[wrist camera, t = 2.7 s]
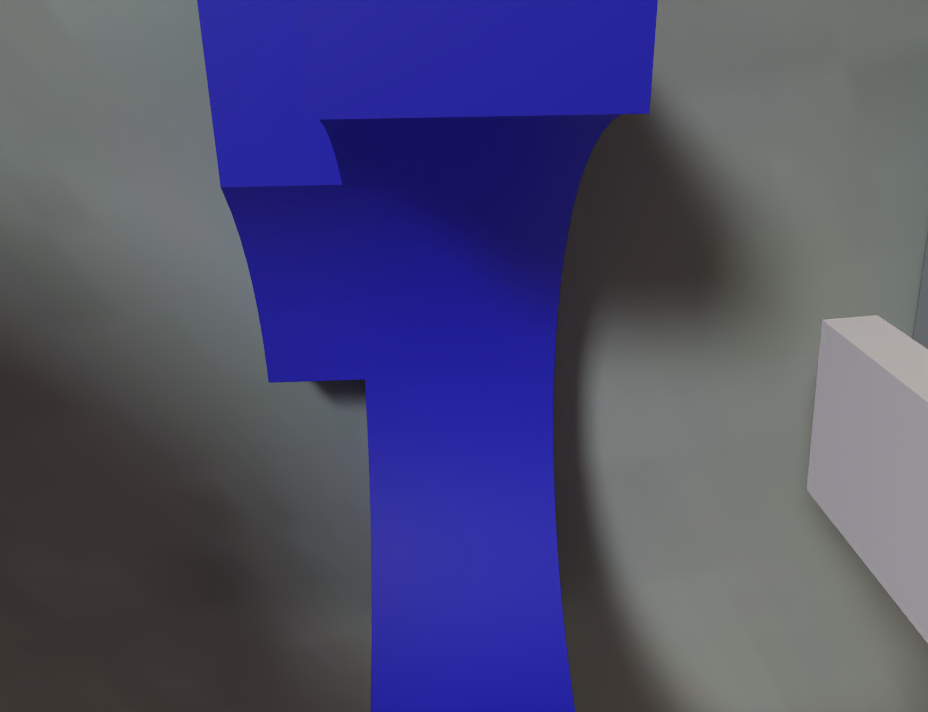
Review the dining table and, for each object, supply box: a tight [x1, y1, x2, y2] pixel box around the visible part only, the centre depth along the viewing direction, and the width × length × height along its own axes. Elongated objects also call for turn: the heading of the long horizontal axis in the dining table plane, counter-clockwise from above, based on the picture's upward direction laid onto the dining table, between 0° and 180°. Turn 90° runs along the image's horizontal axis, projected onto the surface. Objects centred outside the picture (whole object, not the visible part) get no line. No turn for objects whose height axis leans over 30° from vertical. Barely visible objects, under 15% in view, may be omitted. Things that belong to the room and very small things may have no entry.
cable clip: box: [197, 0, 658, 712], centre depth 12 cm, size 12×4×6 cm, turn 1°
